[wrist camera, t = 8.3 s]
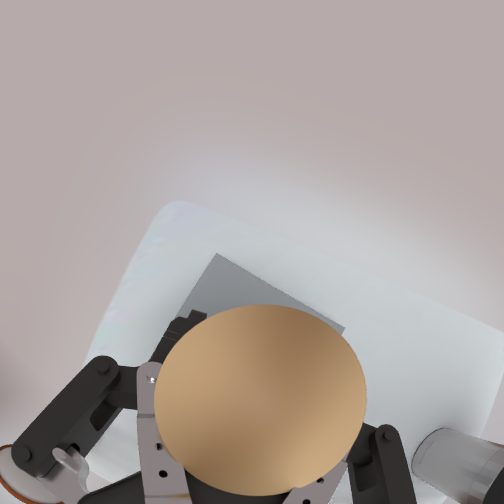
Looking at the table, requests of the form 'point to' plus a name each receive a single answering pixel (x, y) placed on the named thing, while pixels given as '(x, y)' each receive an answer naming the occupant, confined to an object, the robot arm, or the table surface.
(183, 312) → the board
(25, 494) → the magnifying glass
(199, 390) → the peg
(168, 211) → the table surface
